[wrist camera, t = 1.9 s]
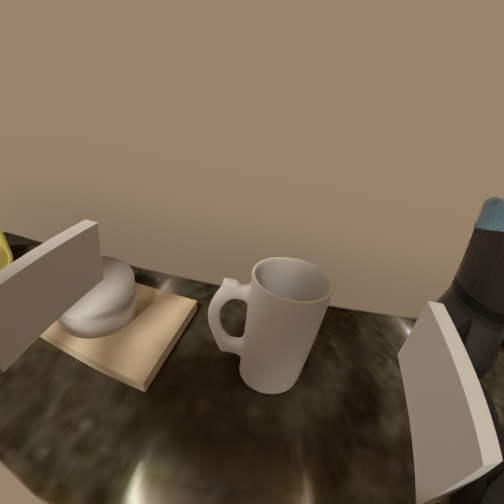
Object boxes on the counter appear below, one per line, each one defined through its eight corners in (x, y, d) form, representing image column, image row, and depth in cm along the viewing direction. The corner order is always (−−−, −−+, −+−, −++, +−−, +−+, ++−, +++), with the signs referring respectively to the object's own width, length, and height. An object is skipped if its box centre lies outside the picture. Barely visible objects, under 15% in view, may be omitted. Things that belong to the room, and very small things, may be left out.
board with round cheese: (196, 310, 36) (198, 274, 33) (145, 392, 24) (137, 355, 21) (72, 268, 39) (67, 236, 36) (12, 316, 27) (-1, 281, 24)
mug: (297, 352, 32) (326, 262, 26) (301, 399, 26) (341, 307, 20) (210, 341, 31) (218, 246, 26) (200, 387, 25) (203, 289, 20)
